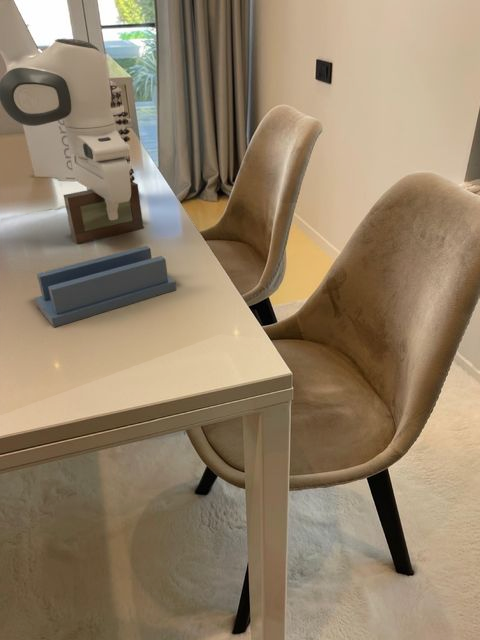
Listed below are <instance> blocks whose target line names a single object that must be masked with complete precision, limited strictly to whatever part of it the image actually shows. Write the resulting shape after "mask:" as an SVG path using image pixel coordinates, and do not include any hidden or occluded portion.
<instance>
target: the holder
mask: <svg viewBox="0 0 480 640" xmlns="http://www.w3.org/2000/svg"><path fill="white" fill-rule="evenodd" d="M36 277H37V281H38V285H39V289H40V292H41V293H40V294H41V295H40V296H37V297H35V298H34V301H35V305H36V307H37V309H38V310H39V311H40V312H41V313H42V315H43V316H44V318H45V319H46V320H47V321H48V322H49V324H51V326H52V327H53V328H57V327H60V326H64V325H66V324H70V323H73V322H76V321H79V320H83V319H87V318H89V317H92V316H96V315H99V314H102V313H105V312H108V311H113V310H115V309H118V308H122V307H125V306H128V305H131V304H134V303H138V302H141V301H144V300H148V299H151V298H154V297H158V296H160V295H164V294H167V293H170V292H173V291H176V290H177V283H176V280H175V279H173V278H172V277H170V276H169V275H168V269H167V261H166V258H165V257H164V256H162V255H159V256H155V257H152V250H151V247H149V246H148V245H142V246H139V247H135V248H131V249H128V250H124V251H120V252H116V253H112V254H108V255H104V256H101V257H97V258H93V259H89V260H84V261H81V262H76V263H73V264H69V265H66V266H62V267H57V268H54V269H49V270H46V271H42V272H37V273H36Z"/></svg>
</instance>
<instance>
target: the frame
mask: <svg viewBox="0 0 480 640" xmlns="http://www.w3.org/2000/svg"><path fill="white" fill-rule="evenodd" d="M130 183H131V197H130V200H129V201H127V202H123V203H119V204H118V209H117V213H118V219H116V220H112V221H111V220H109V219H108V218H107V217H106V211H105V210H107V203H105V199H104V198H103V197H101V196H100V195H98V194H96V193H95V192H93V191H92V190H87V189H86V190H82V191H77V192H70V193H67V194H62V195H63V201H64V205H65V210H66V214H67V215H66V216H67V221H68V224H69V229H70V234H71V240H72V242H74V243H75V244H76V245H79V244H84V243H89V242H92V241H96V240H100V239H105V238H109V237H112V236H117V235H122V234H126V233H130V232H133V231H139V230H142V229H144V222H143V214H142V207H141V199H140V191H139V185H138V183H136V182H135V181H133V182H130Z"/></svg>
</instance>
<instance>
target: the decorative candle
mask: <svg viewBox="0 0 480 640" xmlns="http://www.w3.org/2000/svg"><path fill="white" fill-rule="evenodd" d="M109 83H110V89H111V111H112V114H113V116H114V119H115V124H116V130H117V131H118V133H119V135H120V136H121V138H122V139H123V140H124V142H125V143H126V144H127V146H128V150H129V151H130V149H131V145H130V144H129V142H130V140H131V138H130V137H129V136H128V134H129V133H130V129H128V128H127V127H126V125H127V124H129V119H127V118H126V117H128V115H129V112H128V111H126V110H125V107H124V106H125V105H124V104H123V99H122V98H123V97H122V92H121V91H122V88H120V87H119V86H118V85H117V84H116V83H115V82H114V81H111V80H109ZM125 158H126V160H127V163H128V167H129V173H130V182H135V180H136V178H135V175H133V174H134V173H135V170H134V169H133V166H132V161H131V157H130V155H129V156H127V157H125Z"/></svg>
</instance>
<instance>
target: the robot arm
mask: <svg viewBox="0 0 480 640" xmlns="http://www.w3.org/2000/svg"><path fill="white" fill-rule="evenodd" d="M37 46H38V45H37V43H36V42H35V40H34V38H33V36H32V34H31V31H30V30H29V28H28V26H27V24H26V22H25V20H24V18H23V15H22V13H21V12H20V10H19V8H18V6H17V4H16V1H15V0H0V56H1V57H2V59H3V60H4V63H5V67H6V71H5V73H4V74H3V76H2V78H1V79H0V104H1V106H2V108H3V109H4V111H5V112H6V114H7V115H8V116H9V117H10V118H12V119H13V120H14V121H16V122H17V123H19V124H22V125H23V124H24V125H28V126H40V125H44V124H47V123H51V122H55V121H58V120H63V121H64V125H65V130H66V135H67V140H68V145H69V150H70V156H71V163H72V170H73V174H74V177H75V179H76V181H75V182H78V183H79V184H80V185H83V186H84V187H85V188H86V190H92V191H93V192H95V193H96V194H98V195H100V196H101V197H103V198H104V199H105V203H107V210H105V211H106V217H107V218H108V219H109V220H111V221H112V220H116V219H118V213H117V209H118V204H119V203H123V202H127V201H129V200H130V197H131V183H130V173H129V167H128V163H127V160H126V158H125V157H127V156H130V149H129V150H128V146H127V144H128V143H127V144H126V143H125V142H124V140H123V139H122V138H121V136H120V135H119V133H118V131H117V130H116V124H115V119H114V116H113V114H112V111H111V89H110V83H109V81H110V78H109V72H108V68H107V65H106V60H105V58H104V55H103V53H102V51H101V50H100V49H99V48H98V47H97V46H95V45H94V44H93V43H91V42H88V41H85V40H81V39H76V38H75V39H74V38H66V37H65V38H64V37H63V38H57V39H54V40H53V41H52V43H50V45H48V46H49V47H48V48H46V49H45V50H44V51H42V52H41V51H40V50H39V48H38V47H37Z"/></svg>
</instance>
